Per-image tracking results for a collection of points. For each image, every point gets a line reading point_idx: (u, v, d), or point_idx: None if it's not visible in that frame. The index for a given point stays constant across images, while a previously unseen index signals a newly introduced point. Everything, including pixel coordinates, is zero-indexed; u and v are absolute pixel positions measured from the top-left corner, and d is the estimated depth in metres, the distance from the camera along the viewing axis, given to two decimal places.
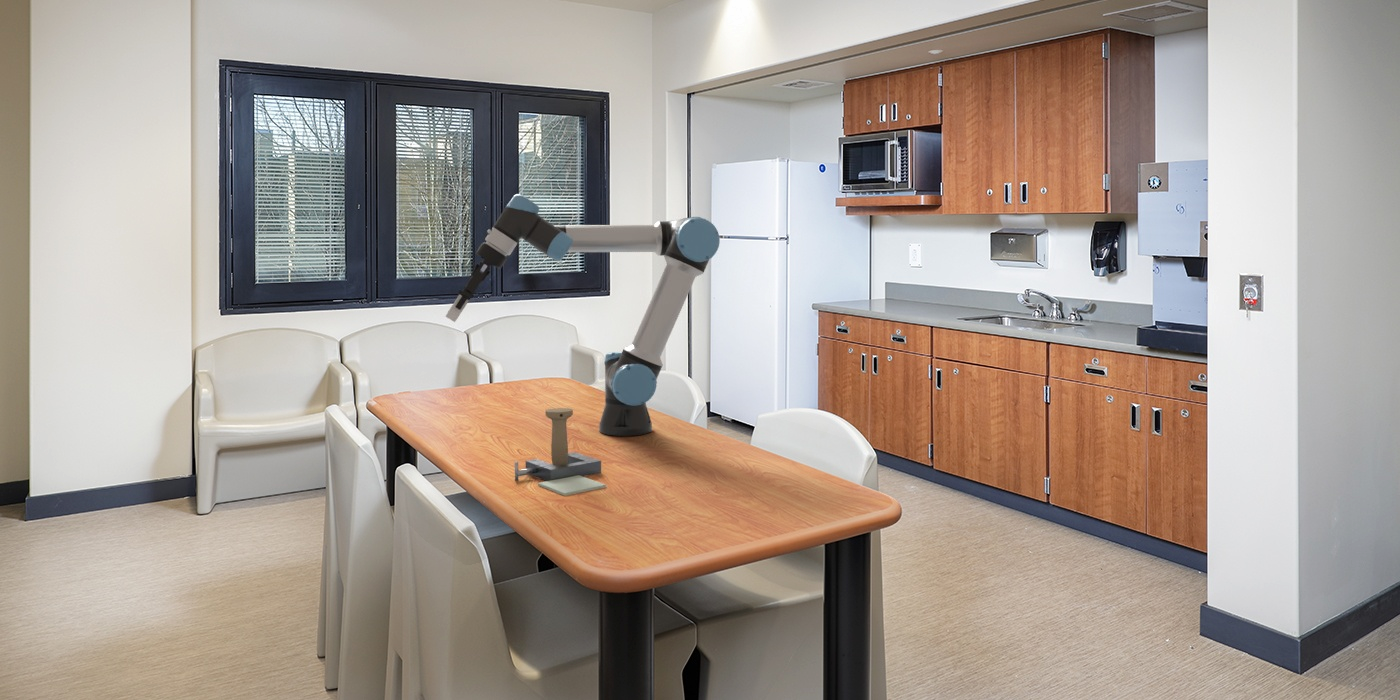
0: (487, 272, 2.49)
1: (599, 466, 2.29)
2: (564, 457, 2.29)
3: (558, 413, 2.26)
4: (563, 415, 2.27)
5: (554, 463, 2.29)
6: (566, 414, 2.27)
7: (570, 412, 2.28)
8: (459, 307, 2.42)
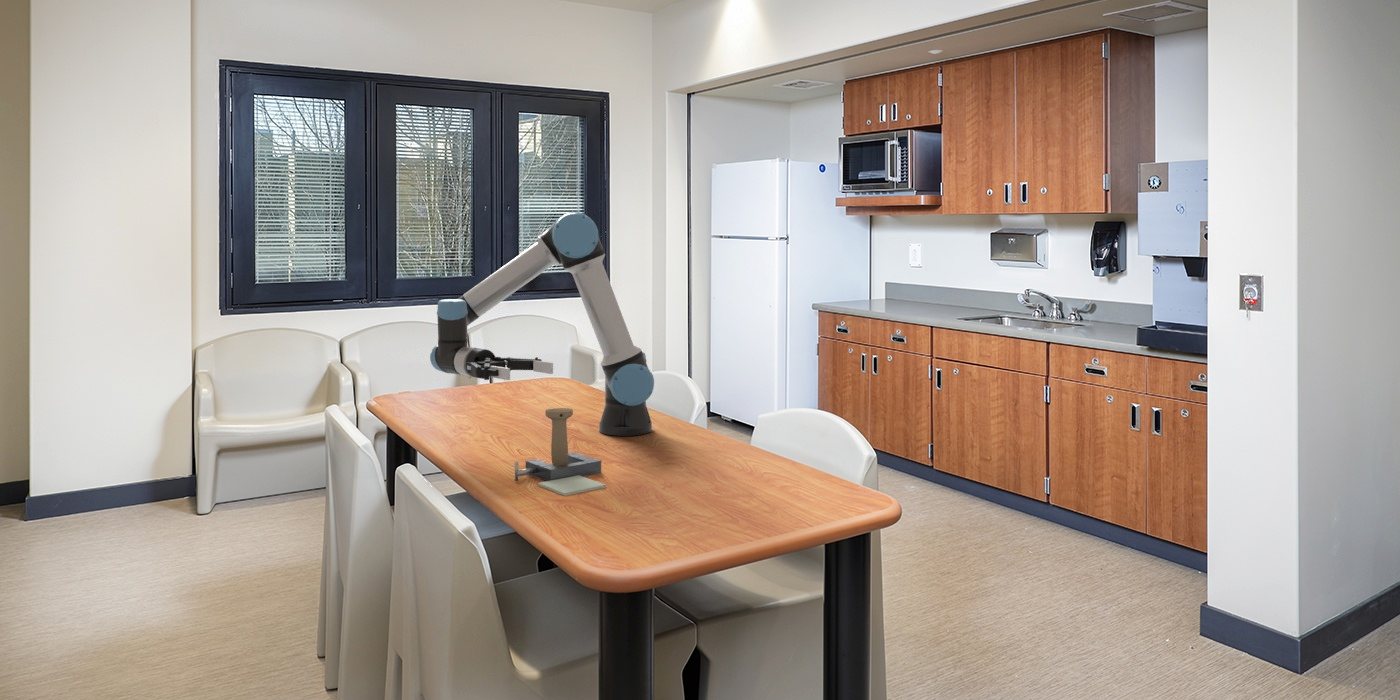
0: (485, 360, 2.42)
1: (599, 466, 2.29)
2: (564, 457, 2.29)
3: (558, 413, 2.26)
4: (563, 415, 2.27)
5: (554, 463, 2.29)
6: (566, 414, 2.27)
7: (570, 412, 2.28)
8: (493, 372, 2.30)
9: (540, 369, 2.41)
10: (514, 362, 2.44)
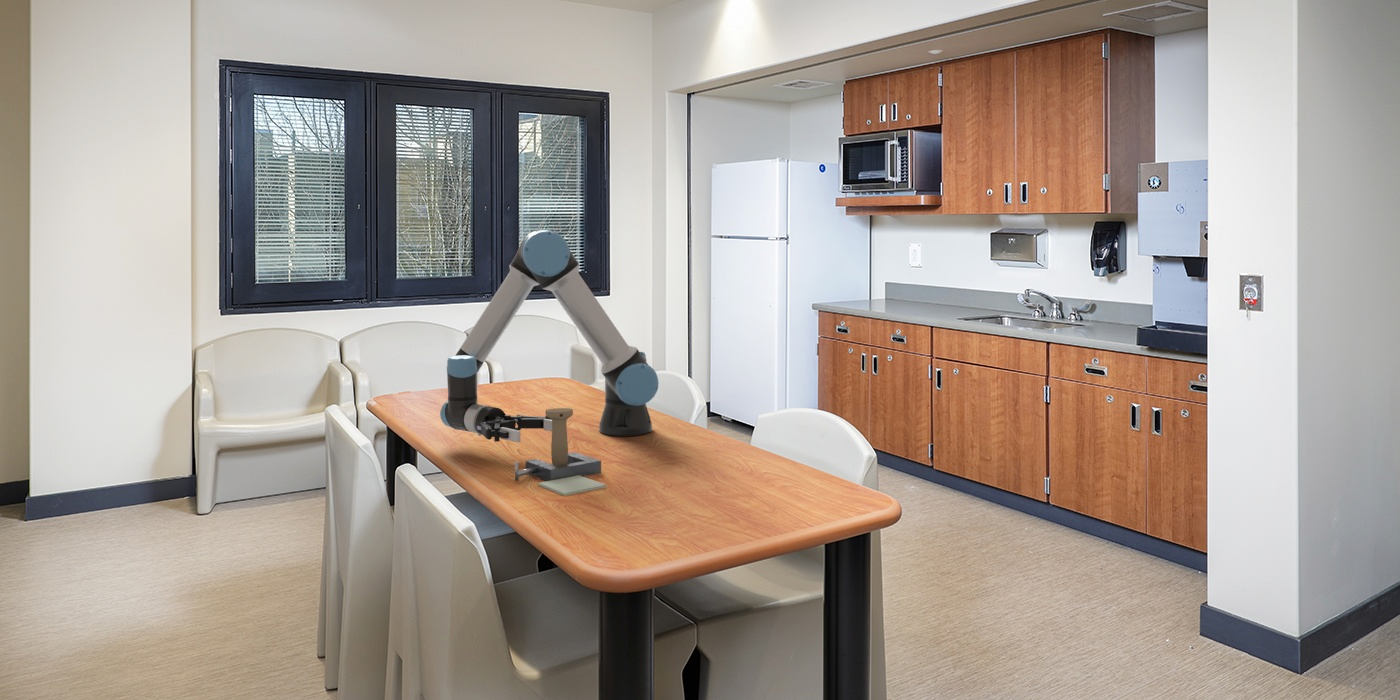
0: None
1: (599, 466, 2.29)
2: (564, 457, 2.29)
3: (558, 413, 2.26)
4: (563, 415, 2.27)
5: (554, 463, 2.29)
6: (566, 414, 2.27)
7: (570, 412, 2.28)
8: (503, 434, 2.29)
9: (550, 428, 2.40)
10: (524, 421, 2.42)
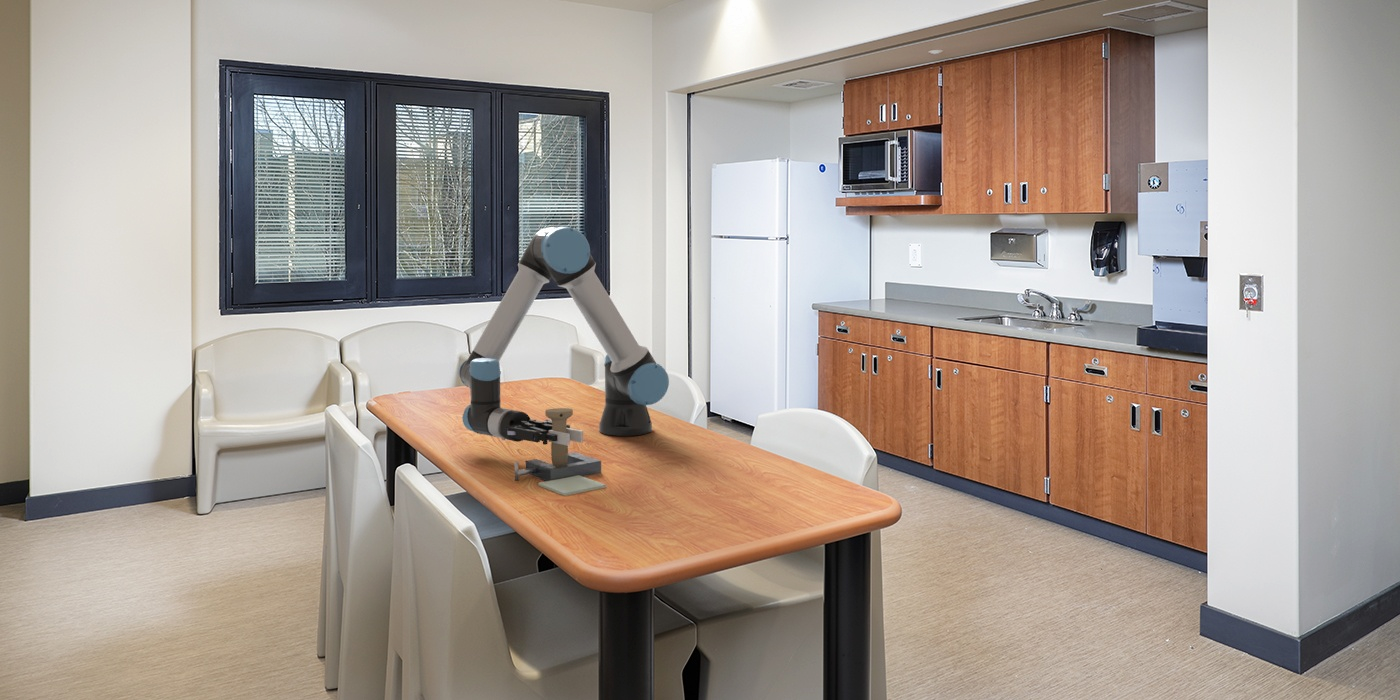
0: (521, 423, 2.35)
1: (599, 466, 2.29)
2: (564, 457, 2.29)
3: (558, 413, 2.26)
4: (563, 415, 2.27)
5: (554, 463, 2.29)
6: (566, 414, 2.27)
7: (570, 412, 2.28)
8: (552, 437, 2.26)
9: (569, 437, 2.30)
10: (545, 427, 2.35)
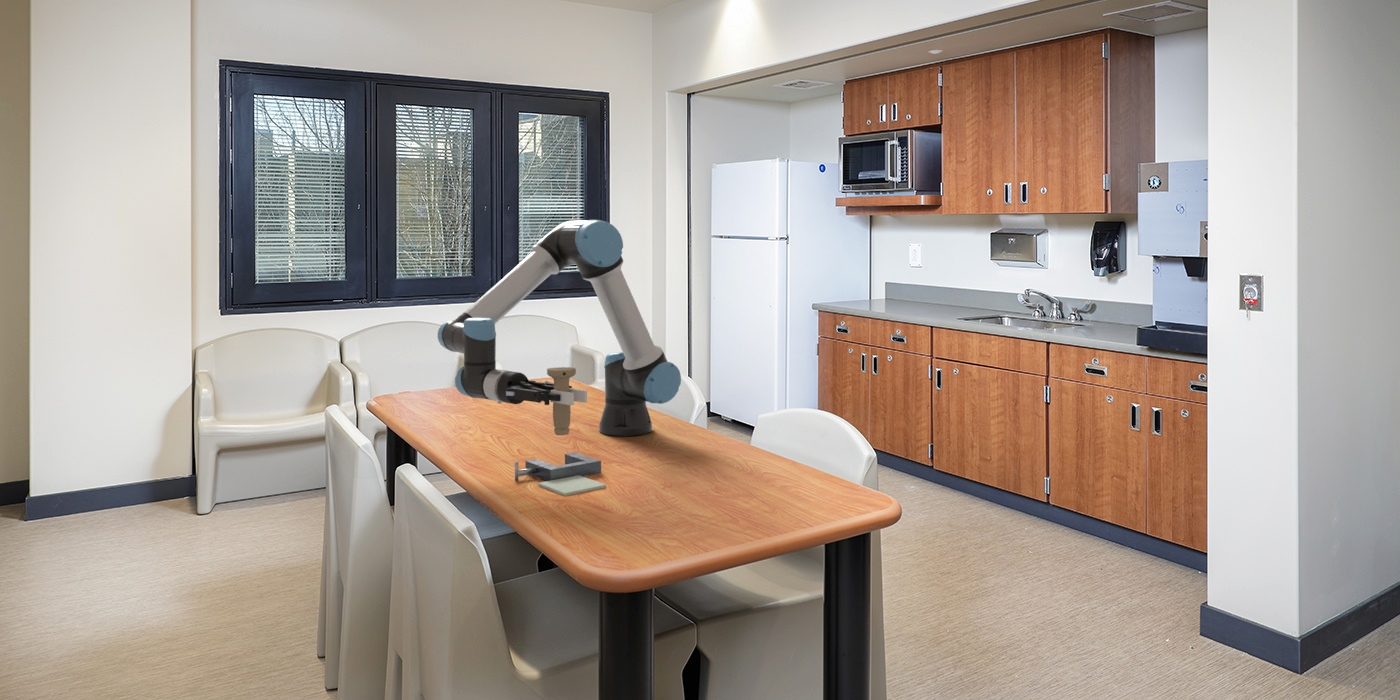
0: (520, 384, 2.23)
1: (599, 466, 2.29)
2: (567, 418, 2.17)
3: (561, 371, 2.14)
4: (566, 374, 2.15)
5: (556, 425, 2.17)
6: (569, 372, 2.15)
7: (573, 371, 2.16)
8: (555, 396, 2.14)
9: None
10: (545, 388, 2.23)
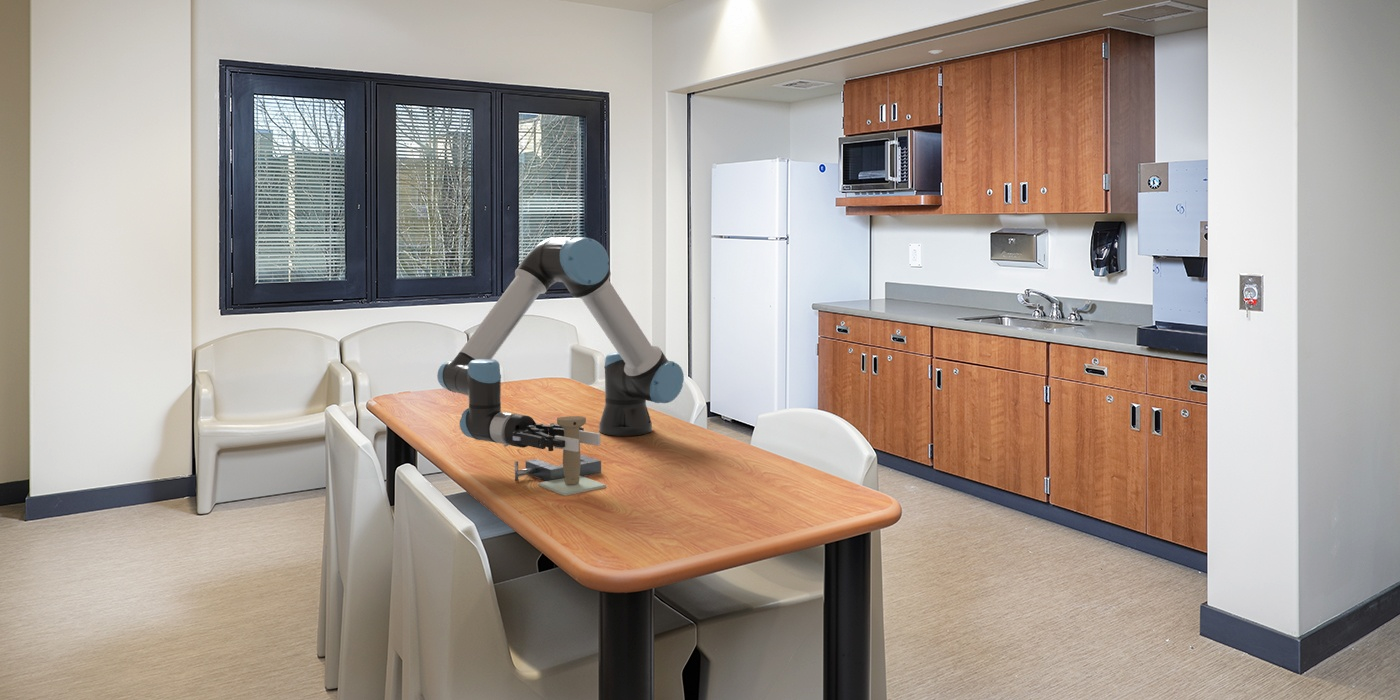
0: (528, 428, 2.21)
1: (599, 466, 2.29)
2: (577, 468, 2.16)
3: (571, 421, 2.14)
4: (577, 423, 2.14)
5: (566, 474, 2.16)
6: (579, 422, 2.15)
7: (583, 420, 2.15)
8: (559, 443, 2.11)
9: (585, 440, 2.18)
10: (555, 431, 2.22)
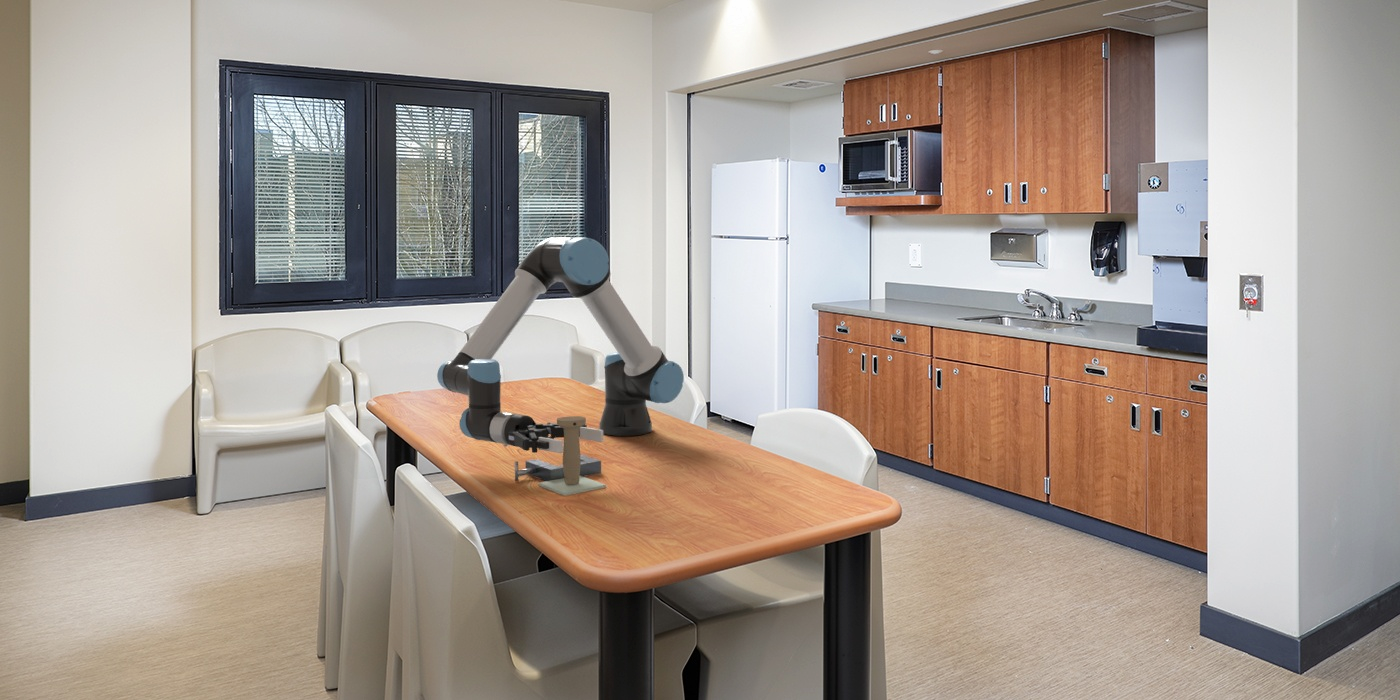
0: (527, 428, 2.21)
1: (599, 466, 2.29)
2: (577, 468, 2.16)
3: (571, 422, 2.13)
4: (576, 424, 2.14)
5: (566, 475, 2.16)
6: (579, 422, 2.14)
7: (583, 420, 2.15)
8: (543, 444, 2.10)
9: (588, 437, 2.22)
10: (558, 429, 2.24)
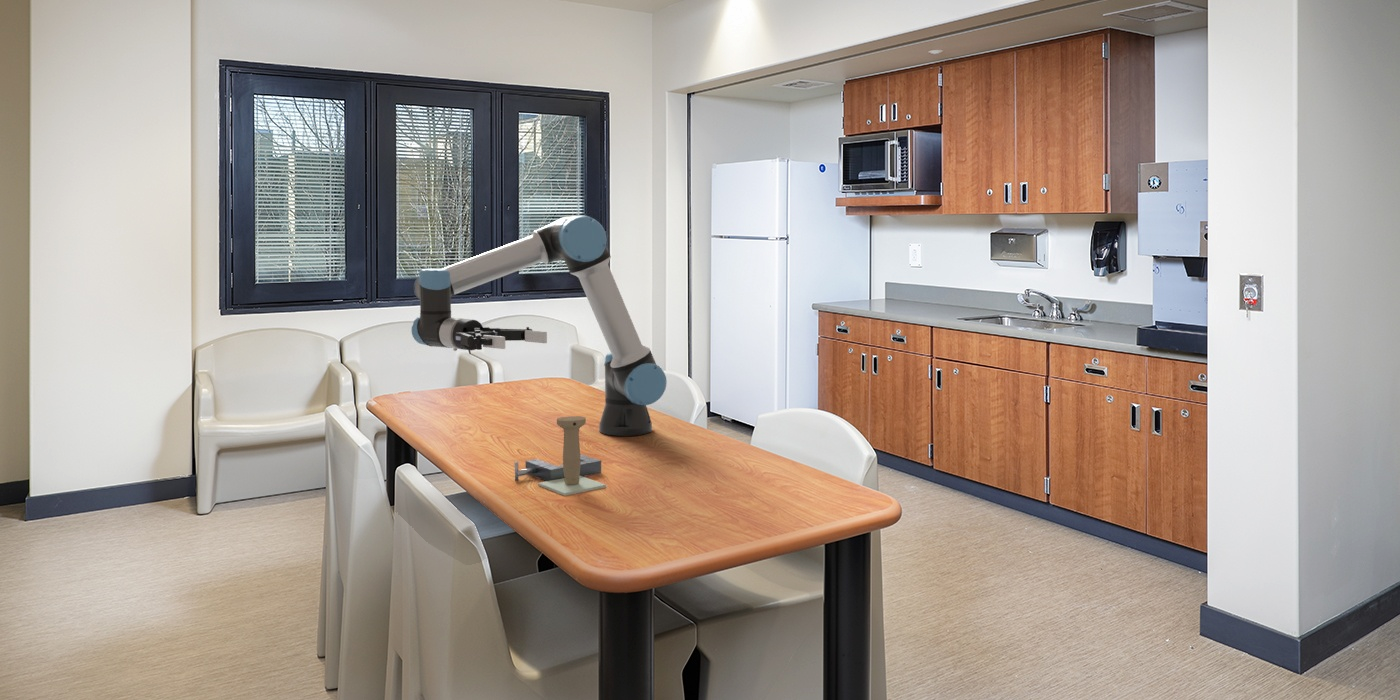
0: (474, 330, 2.31)
1: (599, 466, 2.29)
2: (577, 468, 2.16)
3: (571, 422, 2.13)
4: (576, 424, 2.14)
5: (566, 475, 2.16)
6: (579, 422, 2.14)
7: (583, 420, 2.15)
8: (487, 341, 2.20)
9: (533, 339, 2.32)
10: (504, 332, 2.33)
